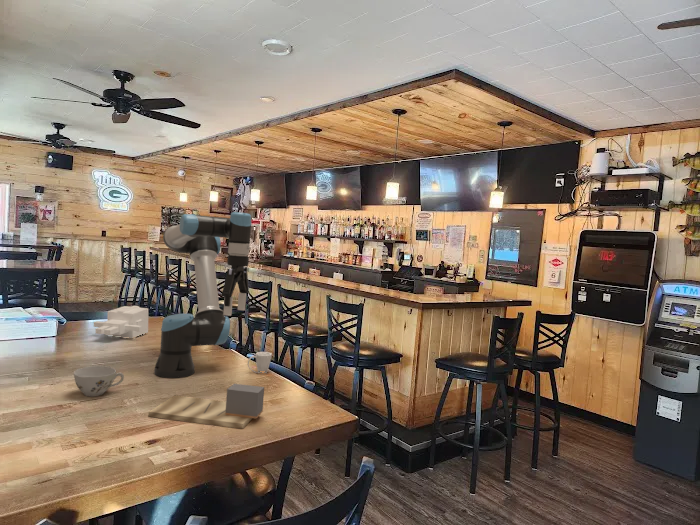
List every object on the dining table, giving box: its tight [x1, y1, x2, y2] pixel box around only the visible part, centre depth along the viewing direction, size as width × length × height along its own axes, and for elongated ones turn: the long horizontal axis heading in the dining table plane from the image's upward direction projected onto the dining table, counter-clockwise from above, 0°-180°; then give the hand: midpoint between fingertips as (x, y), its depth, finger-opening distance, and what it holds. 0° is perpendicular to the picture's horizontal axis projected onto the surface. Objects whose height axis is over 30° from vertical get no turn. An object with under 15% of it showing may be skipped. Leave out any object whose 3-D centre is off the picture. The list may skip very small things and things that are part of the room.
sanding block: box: [225, 383, 265, 419], centre depth 145 cm, size 10×6×8 cm, turn 83°
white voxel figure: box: [93, 305, 149, 338], centre depth 238 cm, size 15×25×28 cm
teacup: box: [73, 365, 125, 397], centre depth 157 cm, size 15×12×8 cm
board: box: [148, 394, 253, 430], centre depth 147 cm, size 30×16×2 cm, turn 83°
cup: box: [247, 351, 273, 374], centre depth 195 cm, size 7×10×8 cm
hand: (234, 312), depth 170 cm, fingers open, 13 cm apart
